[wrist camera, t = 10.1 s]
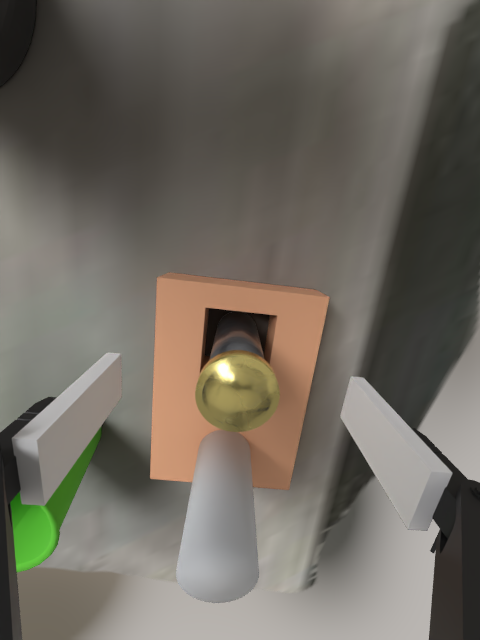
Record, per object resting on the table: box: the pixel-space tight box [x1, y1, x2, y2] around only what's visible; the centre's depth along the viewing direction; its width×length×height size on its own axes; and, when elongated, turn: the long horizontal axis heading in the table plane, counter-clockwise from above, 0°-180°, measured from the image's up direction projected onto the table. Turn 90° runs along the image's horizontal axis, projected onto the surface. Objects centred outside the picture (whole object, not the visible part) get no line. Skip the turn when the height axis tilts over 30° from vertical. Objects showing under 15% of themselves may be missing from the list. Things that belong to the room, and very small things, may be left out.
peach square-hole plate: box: [150, 272, 330, 603], centre depth 21 cm, size 20×14×14 cm
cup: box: [10, 427, 102, 572], centre depth 24 cm, size 9×9×11 cm
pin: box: [195, 311, 280, 432], centre depth 21 cm, size 5×5×12 cm
